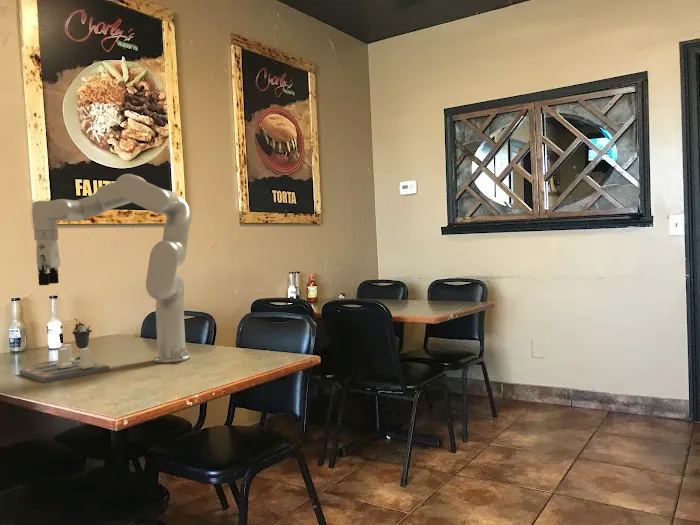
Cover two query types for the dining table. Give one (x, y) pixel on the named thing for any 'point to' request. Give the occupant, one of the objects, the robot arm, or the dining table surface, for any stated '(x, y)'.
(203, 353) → the dining table surface
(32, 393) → the dining table surface
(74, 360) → the breaker far
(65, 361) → the breaker mid
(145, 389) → the dining table surface
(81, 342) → the sundae
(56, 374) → the console
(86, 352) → the breaker near
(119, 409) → the dining table surface
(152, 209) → the robot arm
